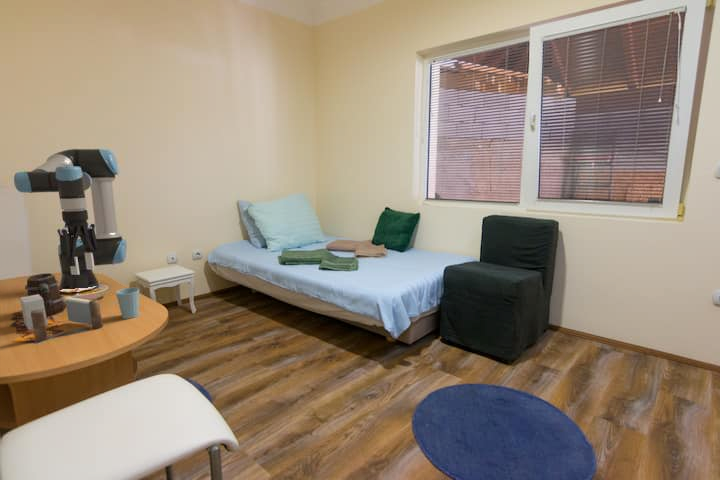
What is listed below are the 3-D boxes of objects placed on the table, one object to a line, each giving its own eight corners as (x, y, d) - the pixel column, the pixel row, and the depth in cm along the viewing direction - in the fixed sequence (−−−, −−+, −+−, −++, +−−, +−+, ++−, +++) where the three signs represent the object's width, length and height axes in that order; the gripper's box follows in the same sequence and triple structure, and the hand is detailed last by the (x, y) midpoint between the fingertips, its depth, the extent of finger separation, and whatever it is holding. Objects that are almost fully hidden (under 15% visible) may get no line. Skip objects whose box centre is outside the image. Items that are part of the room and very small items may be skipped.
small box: (48, 325, 142) (43, 298, 140) (28, 330, 138) (23, 302, 136) (43, 320, 147) (39, 293, 145) (24, 324, 143) (19, 297, 141)
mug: (25, 312, 155) (19, 276, 152) (63, 304, 164) (57, 270, 161) (30, 323, 144) (23, 284, 141) (70, 314, 153) (64, 278, 150)
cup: (140, 318, 149) (137, 292, 147) (117, 321, 146) (114, 295, 144) (142, 311, 156) (139, 286, 154) (120, 314, 153) (117, 289, 151)
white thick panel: (95, 323, 142) (92, 300, 140) (91, 325, 140) (87, 302, 139) (72, 319, 145) (68, 297, 144) (67, 320, 144) (64, 298, 142)
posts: (102, 325, 143) (98, 299, 141) (102, 327, 140) (99, 301, 138) (36, 338, 132) (31, 310, 130) (35, 341, 129) (30, 313, 127)
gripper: (87, 206, 149) (95, 264, 154) (40, 213, 131) (50, 278, 135) (104, 207, 148) (112, 265, 153) (59, 213, 130) (69, 279, 134)
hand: (83, 271), depth 144 cm, fingers open, 6 cm apart
